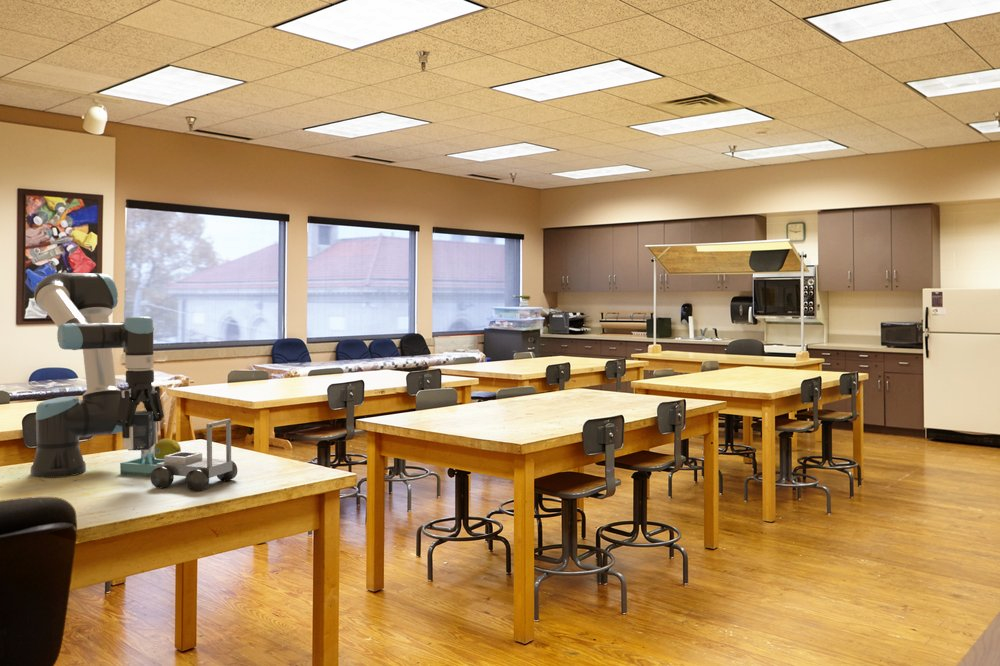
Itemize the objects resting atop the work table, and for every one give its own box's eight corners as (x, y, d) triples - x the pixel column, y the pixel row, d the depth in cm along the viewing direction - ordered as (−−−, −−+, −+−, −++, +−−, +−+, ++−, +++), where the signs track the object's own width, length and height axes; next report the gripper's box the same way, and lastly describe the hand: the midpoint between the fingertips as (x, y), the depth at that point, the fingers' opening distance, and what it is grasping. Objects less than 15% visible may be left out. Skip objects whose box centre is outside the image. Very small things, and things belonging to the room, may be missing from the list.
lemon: (148, 461, 270) (148, 438, 269) (171, 458, 275) (170, 435, 275) (163, 466, 262) (162, 442, 262) (186, 463, 268) (186, 439, 268)
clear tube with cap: (135, 470, 251) (134, 421, 251) (146, 467, 256) (146, 419, 256) (149, 471, 250) (148, 422, 249) (160, 468, 255) (160, 420, 254)
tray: (120, 474, 251) (120, 463, 251) (141, 468, 259) (140, 457, 259) (155, 477, 247) (155, 465, 247) (175, 471, 256) (174, 460, 255)
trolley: (150, 487, 233) (149, 422, 232) (187, 476, 248) (186, 414, 248) (203, 492, 228) (202, 425, 227) (237, 480, 243) (237, 417, 242)
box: (148, 450, 232) (148, 413, 232) (127, 451, 231) (127, 414, 230) (154, 445, 240) (153, 410, 239) (133, 446, 238) (133, 410, 238)
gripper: (122, 372, 223) (123, 453, 224) (176, 366, 244) (177, 440, 245) (100, 372, 225) (101, 452, 226) (155, 366, 246) (156, 439, 247)
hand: (141, 446), depth 235 cm, fingers closed on box, 9 cm apart
